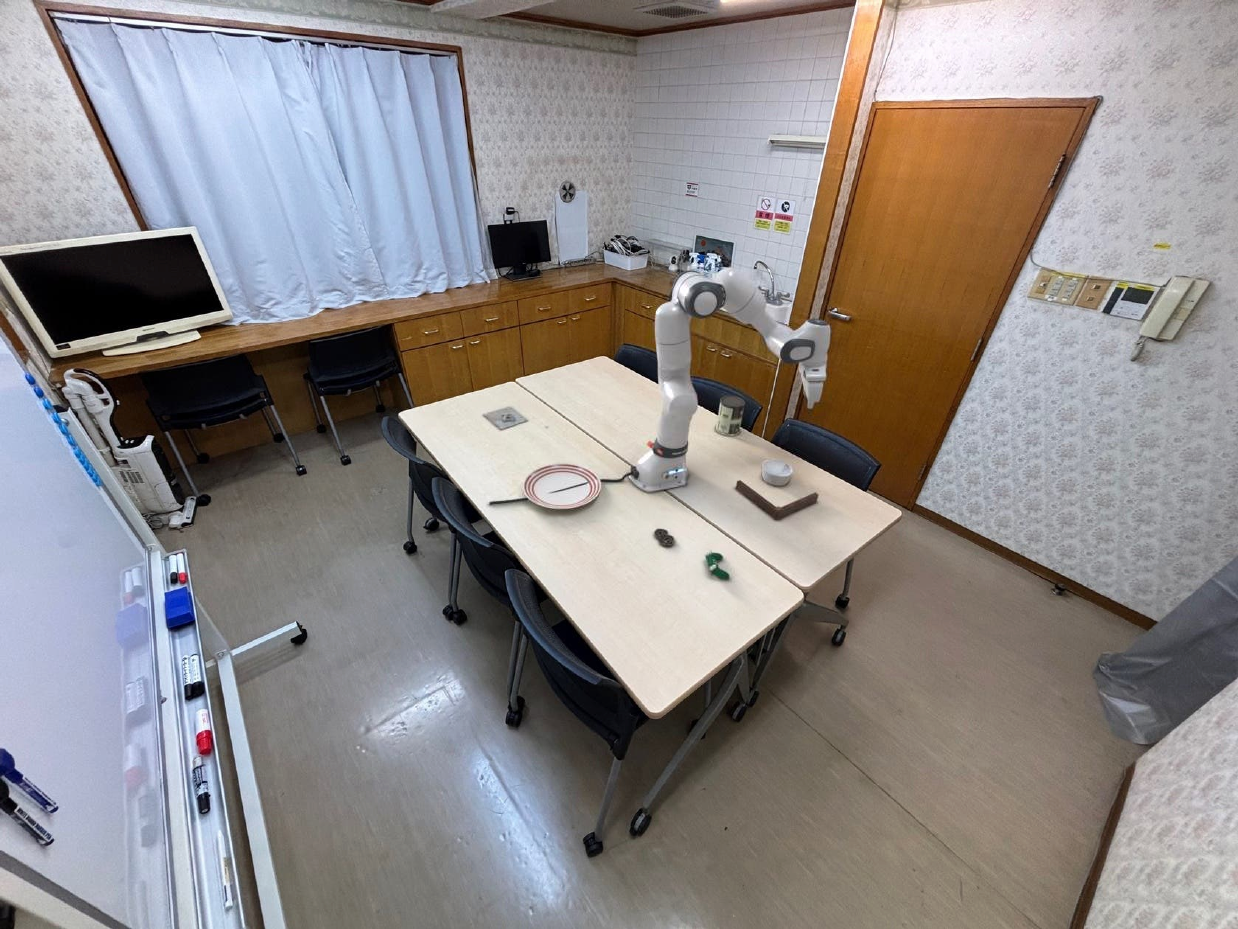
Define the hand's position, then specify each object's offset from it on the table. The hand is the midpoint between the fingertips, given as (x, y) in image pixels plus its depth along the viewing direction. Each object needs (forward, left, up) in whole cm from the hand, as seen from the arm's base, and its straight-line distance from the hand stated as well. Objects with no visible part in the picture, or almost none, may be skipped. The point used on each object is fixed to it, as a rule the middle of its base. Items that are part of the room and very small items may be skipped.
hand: (807, 401), depth 180 cm
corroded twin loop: (-69, -10, -28) cm, 75 cm away
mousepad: (-82, +83, -28) cm, 119 cm away
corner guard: (-20, -11, -28) cm, 36 cm away
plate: (-86, +28, -28) cm, 94 cm away
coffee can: (-4, +33, -28) cm, 43 cm away
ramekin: (-13, -4, -28) cm, 31 cm away
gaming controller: (-63, -28, -28) cm, 74 cm away
